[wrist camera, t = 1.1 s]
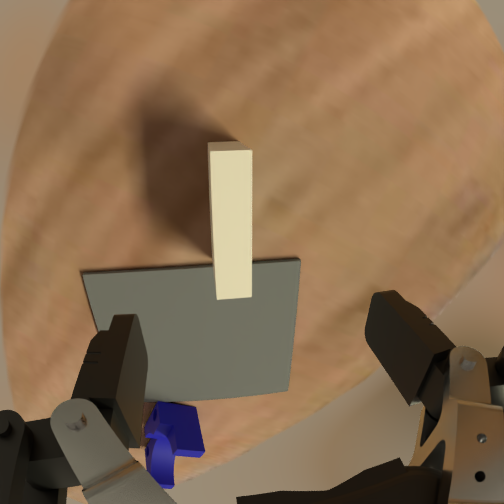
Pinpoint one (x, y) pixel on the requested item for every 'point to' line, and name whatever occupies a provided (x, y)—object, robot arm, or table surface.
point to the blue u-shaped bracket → (171, 439)
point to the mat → (205, 328)
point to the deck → (231, 218)
